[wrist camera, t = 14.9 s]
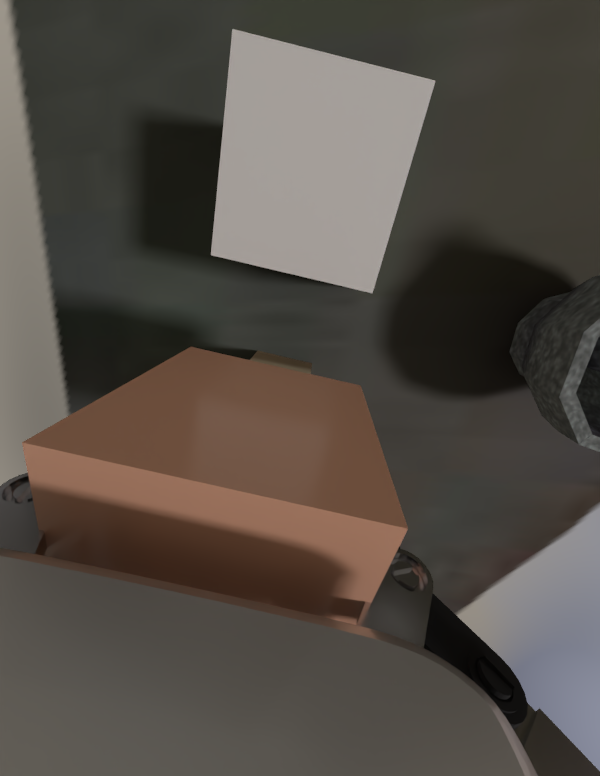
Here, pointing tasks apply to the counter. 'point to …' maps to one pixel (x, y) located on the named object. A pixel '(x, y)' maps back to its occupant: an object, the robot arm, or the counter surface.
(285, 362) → the tan plus cube
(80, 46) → the counter surface
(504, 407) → the counter surface
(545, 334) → the mortar and pestle
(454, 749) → the robot arm
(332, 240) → the white cube
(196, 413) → the orange-brown cube
